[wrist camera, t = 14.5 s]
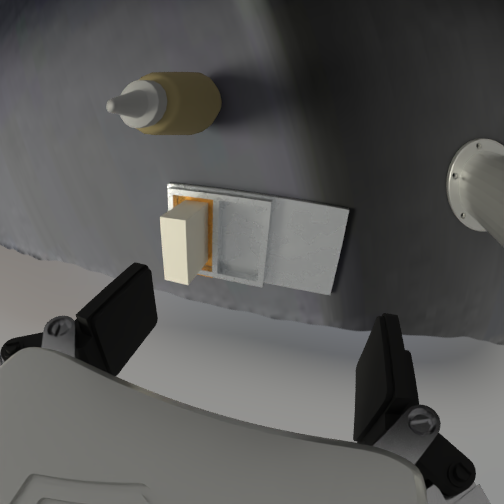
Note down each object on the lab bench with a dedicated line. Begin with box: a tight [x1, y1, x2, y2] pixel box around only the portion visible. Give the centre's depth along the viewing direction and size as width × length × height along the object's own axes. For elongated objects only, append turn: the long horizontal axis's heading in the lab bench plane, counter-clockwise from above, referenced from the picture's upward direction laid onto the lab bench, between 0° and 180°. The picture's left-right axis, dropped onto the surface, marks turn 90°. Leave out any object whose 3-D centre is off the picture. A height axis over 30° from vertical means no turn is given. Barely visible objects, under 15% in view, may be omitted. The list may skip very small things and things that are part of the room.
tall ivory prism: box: [160, 200, 208, 285], centre depth 40 cm, size 4×9×7 cm, turn 176°
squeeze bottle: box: [106, 72, 222, 135], centre depth 27 cm, size 8×8×18 cm
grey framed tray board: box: [168, 182, 349, 295], centre depth 41 cm, size 25×13×2 cm, turn 85°
